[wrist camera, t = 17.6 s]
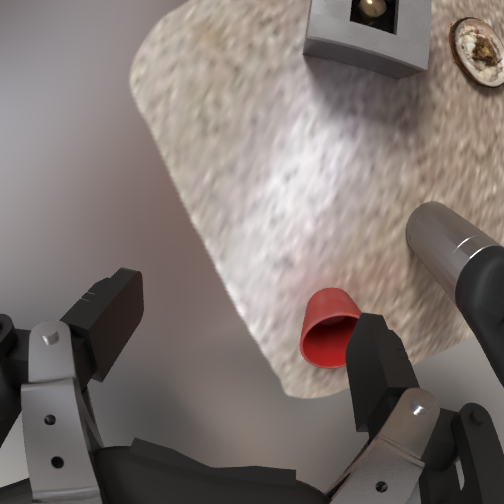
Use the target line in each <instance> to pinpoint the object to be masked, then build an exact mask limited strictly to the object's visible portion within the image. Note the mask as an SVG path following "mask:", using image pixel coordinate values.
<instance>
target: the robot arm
mask: <svg viewBox="0 0 504 504" xmlns="http://www.w3.org/2000/svg"><path fill="white" fill-rule="evenodd" d="M406 239H407V242H408V245H409V246H410V248H411V249H412V250H413V252H414V253H415V254H416V255H417V256H418V258H419V259H420V260H421V261H422V263H423V264H424V265H425V266H426V267H427V269H428V270H429V271H430V272H431V274H432V275H433V276H434V277H435V279H436V280H437V281H438V283H439V284H440V285H441V286H442V288H443V289H444V290H445V292H446V293H447V294H448V295H449V297H450V298H451V299H452V301H453V302H454V304H455V305H456V306H457V308H458V309H459V311H460V312H461V313H462V315H463V317H464V319H465V320H466V322H467V324H468V325H469V327H470V328H471V330H472V331H473V333H474V334H475V336H476V338H477V340H478V341H479V343H480V345H481V347H482V349H483V351H484V353H485V354H486V357H487V358H488V360H489V362H490V365H491V367H492V368H493V370H494V372H495V374H496V376H497V378H498V379H499V381H500V383H501V384H502V386H503V387H504V247H503V246H501V245H500V244H499V243H498V242H496V241H495V240H494V239H492V238H491V237H489V236H488V235H487V234H485V233H484V232H483V231H481V230H480V229H478V228H477V227H476V226H474V225H473V224H471V223H470V222H469V221H467V220H466V219H464V218H463V217H461V216H460V215H458V214H457V213H455V212H454V211H452V210H451V209H449V208H448V207H446V206H445V205H443V204H441V203H438V202H427V203H425V204H422V205H421V206H419V207H418V208H417V209H416V210H415V211H414V212H413V213H412V215H411V216H410V218H409V220H408V223H407V227H406ZM143 311H144V301H143V281H142V274H141V272H140V271H135V270H131V269H126V268H120V269H119V270H118V271H117V272H116V273H115V274H114V275H113V276H112V277H111V278H105V279H103V280H101V281H99V282H97V283H95V284H94V285H93V286H92V287H91V288H90V289H89V290H88V292H87V293H85V294H84V295H83V296H82V298H81V299H79V300H78V301H77V302H76V304H74V306H73V307H72V308H71V309H70V310H69V311H68V312H67V313H66V314H65V315H64V316H63V317H62V318H61V319H60V320H59V321H58V320H47V321H44V322H41V323H39V324H38V325H36V326H35V327H34V328H33V329H32V331H31V330H21V329H15V328H14V325H13V322H12V319H11V318H10V317H9V316H7V315H5V314H0V448H1V445H2V444H3V442H4V440H5V438H6V437H7V435H8V433H9V431H10V430H11V428H12V426H13V424H14V423H15V421H16V419H17V418H18V416H19V414H20V413H21V411H22V423H23V435H24V444H25V452H26V459H27V465H28V472H29V478H27V479H24V480H21V481H19V482H16V483H13V484H10V485H7V486H4V487H1V488H0V504H405V503H406V501H407V499H408V497H409V496H410V494H411V492H412V490H413V488H414V486H415V484H416V482H417V481H418V480H419V488H420V497H421V504H504V454H503V451H502V447H501V445H500V441H499V439H498V436H497V433H496V430H495V427H494V425H493V422H492V419H491V417H490V415H489V413H488V412H487V411H486V409H485V408H484V407H482V406H481V405H479V404H476V403H467V404H465V405H464V406H463V407H462V408H461V410H460V411H459V412H454V411H450V410H446V409H442V408H440V406H439V403H438V401H437V400H436V398H435V397H434V396H433V395H432V394H431V393H430V392H428V391H426V390H424V389H421V388H420V387H419V384H418V381H417V379H416V376H415V374H414V371H413V368H412V365H411V363H410V360H408V355H407V353H406V352H405V348H404V345H403V343H402V341H401V339H400V338H399V337H398V336H397V334H396V333H395V332H394V331H393V330H388V327H387V325H386V322H385V320H384V317H383V316H382V315H377V314H370V313H362V314H361V315H360V316H359V319H358V321H357V324H356V326H355V328H354V331H353V333H352V336H351V338H350V340H349V342H348V345H347V348H346V354H345V361H346V367H347V373H348V379H349V385H350V391H351V396H352V402H353V410H354V417H355V424H356V431H357V432H368V433H369V439H368V440H367V441H366V442H365V444H364V445H363V447H362V448H361V449H360V450H359V452H358V453H357V455H356V456H355V457H354V459H353V460H352V461H351V462H350V464H349V465H348V466H347V468H346V469H345V470H344V471H343V473H342V474H341V475H340V476H339V478H338V479H337V480H336V481H335V482H334V483H333V484H332V485H331V486H330V487H329V488H328V489H327V491H326V492H325V493H322V492H321V491H320V490H318V489H316V488H315V487H313V486H311V485H309V484H307V483H304V482H302V481H298V480H296V470H291V469H279V468H270V467H261V466H248V467H227V468H212V467H209V466H206V465H204V464H202V463H200V462H198V461H195V460H193V459H191V458H189V457H187V456H185V455H183V454H181V453H179V452H177V451H175V450H173V449H171V448H167V447H163V446H160V445H157V444H153V443H150V442H147V441H144V440H141V439H138V438H134V441H133V443H132V445H131V446H113V447H104V444H103V441H102V439H101V436H100V433H99V430H98V427H97V423H96V420H95V415H94V412H93V408H92V403H91V399H90V394H89V390H88V386H87V384H88V382H89V380H90V379H91V378H92V379H94V380H97V381H99V382H103V380H104V379H105V377H106V375H107V374H108V372H109V371H110V369H111V367H112V366H113V364H114V362H115V361H116V359H117V357H118V356H119V354H120V353H121V351H122V349H123V348H124V346H125V345H126V343H127V342H128V340H129V339H130V337H131V335H132V334H133V332H134V331H135V329H136V328H137V326H138V325H139V323H140V321H141V319H142V316H143ZM458 460H460V461H461V465H462V470H463V474H464V480H465V481H464V486H463V488H462V490H460V484H459V480H458V474H457V470H456V465H455V463H456V462H457V461H458Z"/></svg>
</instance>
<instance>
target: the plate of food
mask: <svg viewBox="0 0 504 504" xmlns="http://www.w3.org/2000/svg"><path fill="white" fill-rule="evenodd" d="M449 23H450V24H452V23H451V22H449ZM448 27H449V26H448ZM449 42H450V46H451V49H452V53H453V55H454V58H455V59H456V61H454V63H455V62H457V64H458V65H459V66H460V68H461V69H462V70H463V71H464V73H465V74H466V75H467V76H469V77H470V78H471V79H472V81H473V82H475V83H476V84H477V85H480V86H485V87H489V88H490V87H491V88H497V87H499V86H500V85H502V84H503V83H504V47H503V44H502V42H501V41H500V39H499V38H498V36H497V34H496V33H495V32H494V30H493V29H492V28H491V27H490V26H489V25H488V24H487V23H485V22H483V21H481V20H479V19H477V18H472V17H470V18H468V17H465V18H464V19H461V20H459V21H457V22H456V23H455V24H454V25H453V26H451V27H450V32H449Z"/></svg>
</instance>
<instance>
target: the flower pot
mask: <svg viewBox="0 0 504 504" xmlns="http://www.w3.org/2000/svg"><path fill="white" fill-rule="evenodd" d="M361 314H362V312H361V311H360V310H359V308H358V307H357V305H356V304H355V303H354V302H353V300H352V299H351V298H350V296H349V295H348V294H347V293H346V292H345V291H343V290H341V289H338V288H326V289H323V290H320V291H318V292H317V293H315V294H314V295H313V296H312V297H311V298H310V300H309V302H308V305H307V309H306V313H305V317H304V322H303V328H302V333H301V339H300V351H301V354H302V356H303V357H304V359H305V360H306V361H307V362H309V363H310V364H312V365H314V366H316V367H320V368H327V369H333V368H340V367H344V366H346V361H345V354H346V348H347V345H348V342H349V340H350V338H351V336H352V333H353V331H354V328H355V326H356V324H357V321H358V319H359V316H360V315H361Z"/></svg>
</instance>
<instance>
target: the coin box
mask: <svg viewBox="0 0 504 504" xmlns="http://www.w3.org/2000/svg"><path fill="white" fill-rule="evenodd" d="M386 1H389V2H392V3H394V4H396V8H395V22H394V34H391V33H388V32H385V31H382V30H379V29H376V28H372V27H369V26H366V25H362V24H359V23H355V22H351V21H350V12H351V3H352V0H311V2H310V9H309V15H308V22H307V29H306V35H305V42H304V48H303V55H308V56H313V57H318V58H323V59H327V60H332V61H336V62H340V63H344V64H348V65H352V66H356V67H360V68H363V69H367V70H370V71H374V72H377V73H380V74H383V75H386V76H389V77H392V78H395V79H401V78H404V77H407V76H410V75H413V74H417V73H420V72H423V71H427V69H428V59H429V47H430V31H431V0H386Z"/></svg>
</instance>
